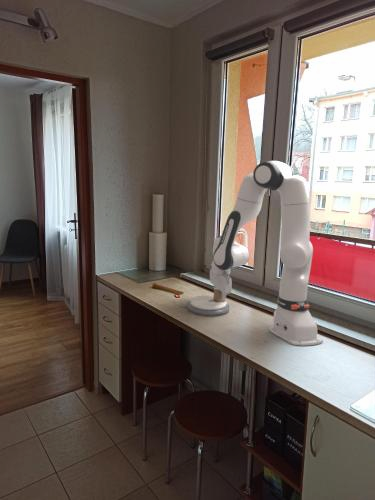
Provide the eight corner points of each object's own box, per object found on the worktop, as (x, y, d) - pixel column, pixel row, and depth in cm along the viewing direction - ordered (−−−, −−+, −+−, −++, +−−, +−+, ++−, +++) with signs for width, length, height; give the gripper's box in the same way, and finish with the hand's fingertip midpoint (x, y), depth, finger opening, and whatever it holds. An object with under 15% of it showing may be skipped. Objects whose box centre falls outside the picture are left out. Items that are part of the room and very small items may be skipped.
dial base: (235, 314, 170) (236, 310, 170) (194, 317, 165) (194, 312, 164) (220, 300, 189) (220, 296, 189) (182, 303, 184) (182, 298, 183)
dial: (231, 309, 171) (232, 295, 170) (196, 311, 166) (197, 297, 165) (218, 297, 187) (219, 285, 186) (186, 299, 182) (187, 286, 181)
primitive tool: (184, 293, 201) (184, 287, 200) (179, 296, 196) (180, 289, 195) (154, 287, 209) (154, 281, 208) (149, 290, 204) (149, 283, 204)
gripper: (236, 274, 166) (234, 303, 168) (219, 263, 185) (218, 290, 188) (222, 274, 164) (221, 304, 167) (208, 264, 183) (206, 290, 186)
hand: (219, 296), depth 177 cm, fingers open, 8 cm apart
